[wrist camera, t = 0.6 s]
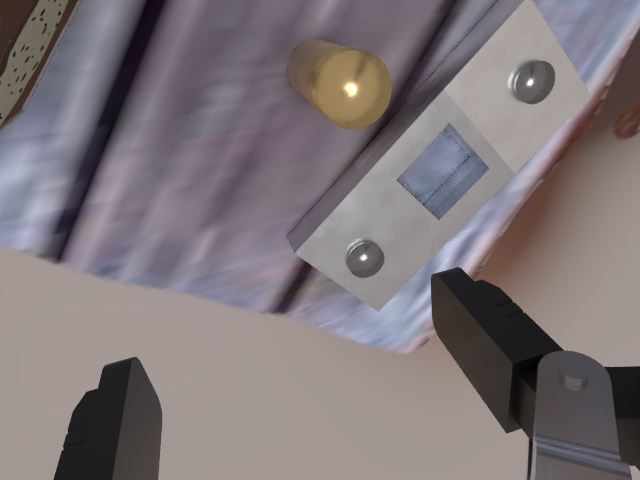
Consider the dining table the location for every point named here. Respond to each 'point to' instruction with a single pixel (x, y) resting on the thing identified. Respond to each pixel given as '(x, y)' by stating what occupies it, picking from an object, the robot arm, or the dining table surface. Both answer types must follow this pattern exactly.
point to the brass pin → (340, 82)
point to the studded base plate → (466, 130)
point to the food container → (28, 48)
